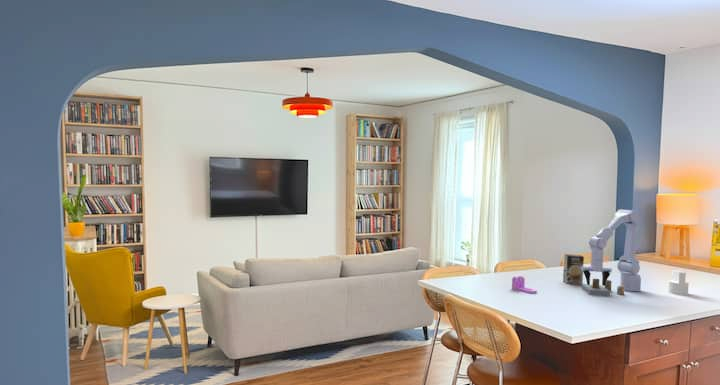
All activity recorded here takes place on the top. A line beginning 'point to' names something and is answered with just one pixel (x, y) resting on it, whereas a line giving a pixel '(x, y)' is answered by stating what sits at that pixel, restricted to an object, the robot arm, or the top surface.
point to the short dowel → (620, 290)
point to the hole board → (596, 290)
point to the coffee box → (573, 269)
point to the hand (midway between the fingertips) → (595, 285)
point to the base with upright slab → (678, 283)
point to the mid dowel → (608, 285)
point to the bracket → (521, 285)
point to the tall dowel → (595, 283)
